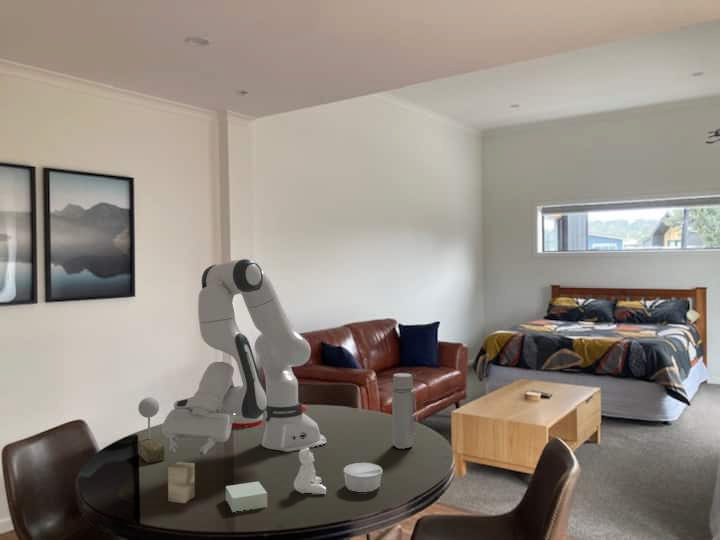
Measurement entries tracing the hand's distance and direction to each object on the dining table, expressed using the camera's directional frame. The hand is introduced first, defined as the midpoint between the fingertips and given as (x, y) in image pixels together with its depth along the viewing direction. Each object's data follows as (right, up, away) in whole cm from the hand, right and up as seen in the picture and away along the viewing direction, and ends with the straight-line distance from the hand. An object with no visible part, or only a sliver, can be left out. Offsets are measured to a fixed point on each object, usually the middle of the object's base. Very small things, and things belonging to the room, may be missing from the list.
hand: (187, 452), depth 166 cm
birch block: (0, -11, -4) cm, 12 cm away
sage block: (+18, -12, -7) cm, 23 cm away
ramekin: (+49, -11, +4) cm, 50 cm away
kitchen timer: (+2, -10, +71) cm, 72 cm away
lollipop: (-28, -10, +49) cm, 58 cm away
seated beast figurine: (+34, -11, +1) cm, 36 cm away
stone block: (-20, -11, +29) cm, 37 cm away
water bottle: (+64, -11, +40) cm, 76 cm away
